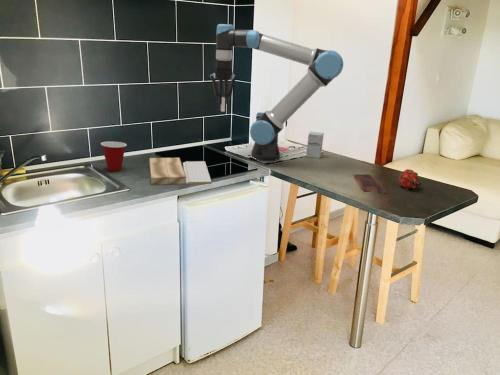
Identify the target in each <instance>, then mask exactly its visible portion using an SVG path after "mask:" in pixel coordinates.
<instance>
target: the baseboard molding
mask: <svg viewBox="0 0 500 375" xmlns="http://www.w3.org/2000/svg"><path fill="white" fill-rule="evenodd" d="M183 161H184V162H183ZM182 166H183V169H184V172H185V175H186V184H185V185H198V184H199V185H205V184H206V185H211V184H212V180H211V176H210V173H209V170H208V166H207V164H206V159H203V160H194V161H192V160H189V161H188V160H185V159H184V158H183V160H182Z"/></svg>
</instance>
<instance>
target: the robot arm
mask: <svg viewBox="0 0 500 375" xmlns="http://www.w3.org/2000/svg"><path fill="white" fill-rule="evenodd" d="M215 35H216V37H215V38H216V39H215V45H216V46H215V48H216V49H215V59H216V60H215V69H214V72H213V73H212V74H210V75H209V78H210V79H211V82H212V86H213V87H212V88H213V92H214V95H215V96H216V97H218V104H219V105H220V112H222V113H223V112H224V113H225V110H226V107H225V106H226V105H227V104H228V97H231V96H232V94H233V89H234V86H235V83H236V80H237V79H238V76H237V75H235V74H234V73H233V61H232V60H233V47H234V48H249V49H253V50H257V51H260V52H264V53H268V54H270V55H274V56H277V57H280V58H283V59H286V60H289V61H293V62H295V63H299V64H302V65H306V66H308V67H307V73H306V74H305V75H304V76H303V77H302V78H301V79H300V80H299V81H298V82H297V83H296V84H295V85H294V86H293V87H292V88H291V90H289V91H288V92H287V94H285V95H284V96H283V97H282V98H281V99H280V100H279V101H278V103H277V104H276V105H275V106H274V107H273V108H272V109H271V110H265V111H264V112H262V111H261V112H259V111H258V112H257V113H256V116H255V119H256V120H255V122H253V123H252V124H251V126H250V129H249V134H250V137H251V140H252V141H253V142H254V144H253V146H252V149H251V152H250V157H251V156H252V157H254V158H256V159H255V160H257V159H259V160H258V161H264V160H267V161H269V162H270V160H273V161H277V160H276V159H278V160H279V158H280V159H281V152H280V148H279V144H278V140H279V133H280V132H281V131H282V130H283V129H284V124H285V123H286V122H287V121H288V120H289V119H290V118H291V117H292V116H293V115H294V114H295V113H296V112H297V111H298V110H299V109H300V108H301V107H302V106H303V105H304V104H305V103H306V102H307V101H308V100H309V99H310V98H312V96H313V95H314V94H315V93H316V92H317V91H318V90H319V89H320V88H322V87H327V86H328V85H329V84H330V83H331V82H332V81H333V80H334V79H335V78H337V77H338V76H339V75H340V74H341V73H342V71H343V68H344V60H343V57H342V56H341V54H340V53H338V52H337V51H335V50H329V49H328V50H327V49H326V50H325V49H320V48H317V47H316V48H314V49H313V48H310V47H306V46H302V45H300V44H297V43H293V42H290V41H287V40H283V39H280V38H278V37H274V36H270V35H267V34H264V33H261V32H259V30H253V29H236V28H235V29H234V25H233V24H229V23H228V24H226V23H219V24H217V26H216V33H215ZM216 78H217V79H218V87H217V82H216ZM230 79H231V81H230V84H229V80H230ZM223 84H224V85H223ZM223 86H224V87H223ZM228 87H229V88H228ZM252 157H251V158H252ZM254 158H253V159H254Z"/></svg>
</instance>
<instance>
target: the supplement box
mask: <svg viewBox="0 0 500 375" xmlns="http://www.w3.org/2000/svg"><path fill="white" fill-rule="evenodd" d="M324 134H325V133H324V132H317V131H310V132H308V137H307V147H306V158H313V159H320V158H321V156H322V150H323V142H324Z"/></svg>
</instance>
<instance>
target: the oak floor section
mask: <svg viewBox="0 0 500 375" xmlns="http://www.w3.org/2000/svg"><path fill="white" fill-rule="evenodd" d="M149 170H150V171H149V172H150V183H151V186H155V185H157V186H159V185H163V186H164V185H187V184H186V175H185V172H184V168H183V162H182V160H181V157H149Z"/></svg>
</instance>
